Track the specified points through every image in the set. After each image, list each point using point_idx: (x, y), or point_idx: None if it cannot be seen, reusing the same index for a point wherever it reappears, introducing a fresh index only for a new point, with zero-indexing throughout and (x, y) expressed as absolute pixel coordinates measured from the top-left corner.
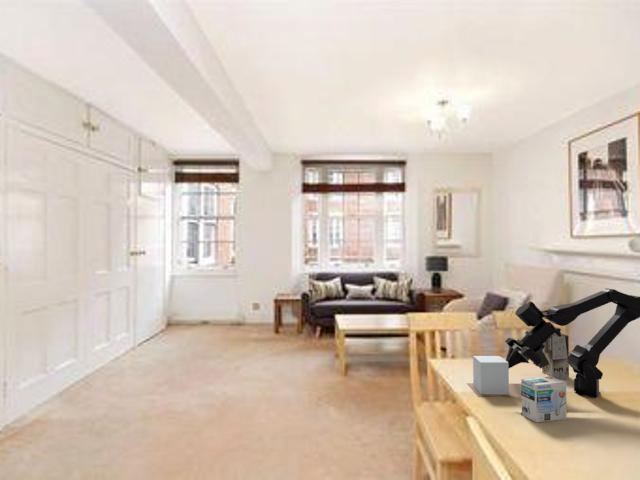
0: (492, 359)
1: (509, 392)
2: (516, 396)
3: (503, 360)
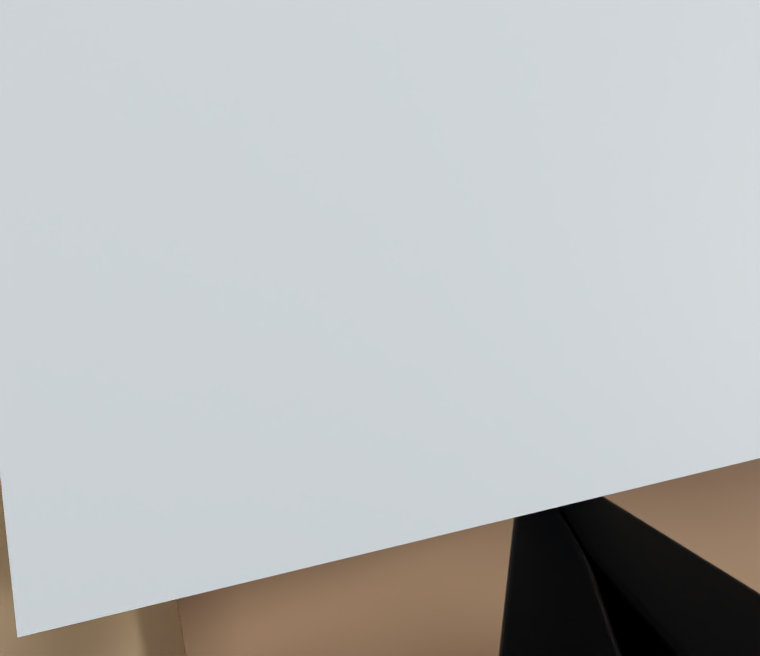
0: (387, 73)
1: (397, 558)
2: (225, 640)
3: (333, 465)
